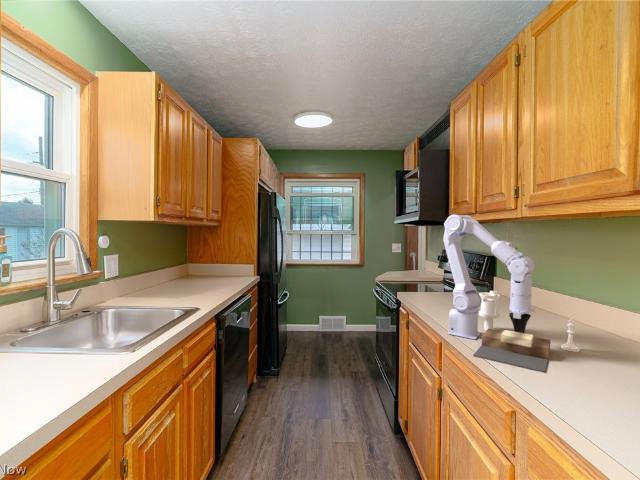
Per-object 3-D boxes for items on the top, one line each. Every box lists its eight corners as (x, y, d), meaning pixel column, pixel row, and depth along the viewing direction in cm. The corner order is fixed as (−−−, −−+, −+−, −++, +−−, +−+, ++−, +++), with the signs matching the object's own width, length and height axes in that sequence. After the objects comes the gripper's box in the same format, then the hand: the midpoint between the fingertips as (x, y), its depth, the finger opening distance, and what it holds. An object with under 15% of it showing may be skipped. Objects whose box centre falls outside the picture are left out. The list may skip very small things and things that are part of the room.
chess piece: (577, 353, 103) (578, 321, 102) (558, 348, 107) (559, 318, 106) (581, 349, 106) (582, 319, 106) (563, 345, 110) (564, 315, 109)
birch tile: (500, 341, 102) (501, 334, 102) (504, 336, 107) (504, 329, 107) (531, 347, 98) (531, 340, 97) (533, 341, 102) (533, 334, 102)
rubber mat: (473, 356, 99) (473, 354, 99) (481, 346, 108) (481, 345, 108) (544, 372, 88) (544, 371, 88) (547, 360, 96) (547, 359, 96)
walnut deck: (481, 346, 108) (481, 335, 108) (488, 338, 116) (488, 328, 116) (547, 360, 97) (548, 348, 97) (550, 350, 105) (550, 339, 104)
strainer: (503, 331, 124) (504, 292, 123) (489, 333, 121) (490, 293, 121) (487, 326, 130) (488, 289, 130) (474, 328, 128) (475, 290, 127)
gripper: (533, 299, 97) (531, 345, 97) (537, 292, 108) (536, 333, 109) (506, 296, 101) (504, 339, 102) (513, 290, 113) (511, 329, 113)
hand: (519, 336), depth 105 cm, fingers closed
